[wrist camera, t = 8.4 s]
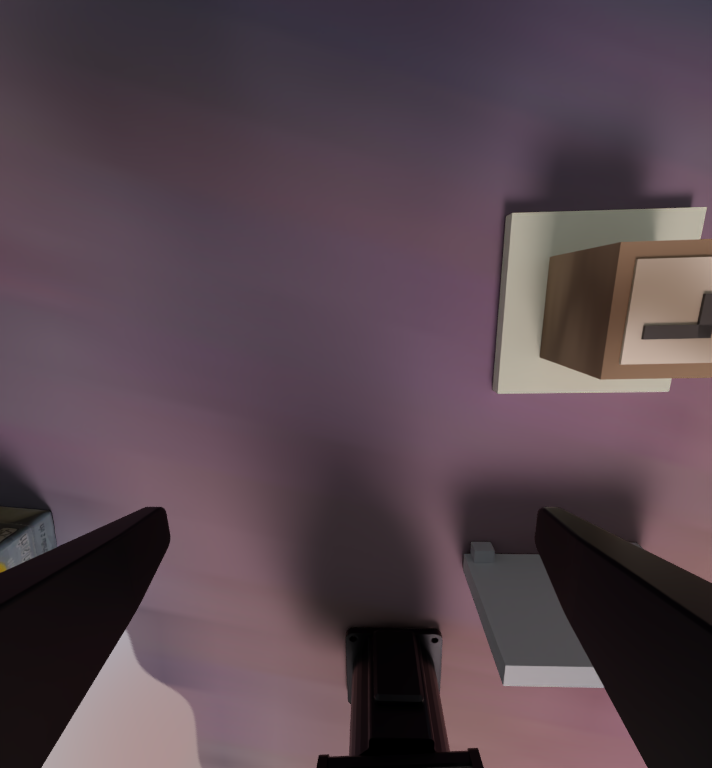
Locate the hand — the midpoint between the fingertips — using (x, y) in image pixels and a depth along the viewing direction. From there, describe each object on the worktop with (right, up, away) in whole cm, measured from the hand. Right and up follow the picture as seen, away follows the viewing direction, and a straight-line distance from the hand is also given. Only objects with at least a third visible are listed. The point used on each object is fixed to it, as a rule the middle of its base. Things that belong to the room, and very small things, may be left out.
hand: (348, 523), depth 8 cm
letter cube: (+12, +7, +9) cm, 17 cm away
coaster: (+12, +7, +10) cm, 18 cm away
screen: (+13, -8, +14) cm, 20 cm away
